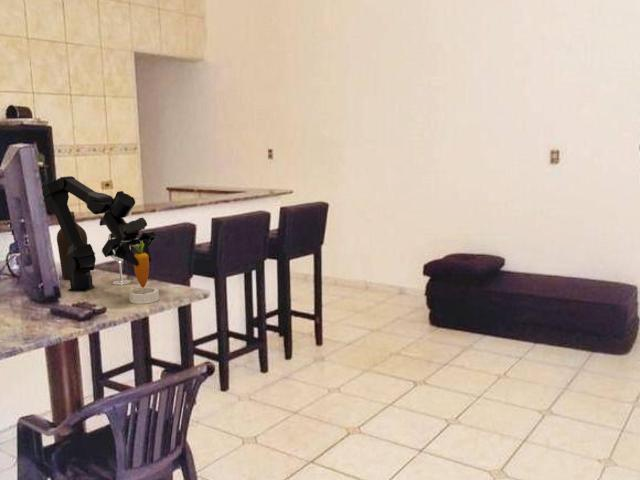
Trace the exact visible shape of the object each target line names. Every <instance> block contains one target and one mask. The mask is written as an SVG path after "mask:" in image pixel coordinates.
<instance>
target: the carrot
mask: <svg viewBox="0 0 640 480" xmlns="http://www.w3.org/2000/svg"><path fill="white" fill-rule="evenodd" d="M140 246H141V247H140V249H139V246H138V245H136V246H135V245H133V246H131V247H132V248H134V249H135V250H137V252H136V253H135V254H134V253H133V255H134V256H135V258H136V259H137V261H138V263H139V265H138V266H135V265H134V264H133V269H134V273H135V277H136V279H137V282H138V284H139V286H140V288H146V287H145V286H146V285H147V282H148V279H149V275H150V274H149V272H150V263H149V256H148V254H146V253H143V248H144V244H143V241H140Z"/></svg>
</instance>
